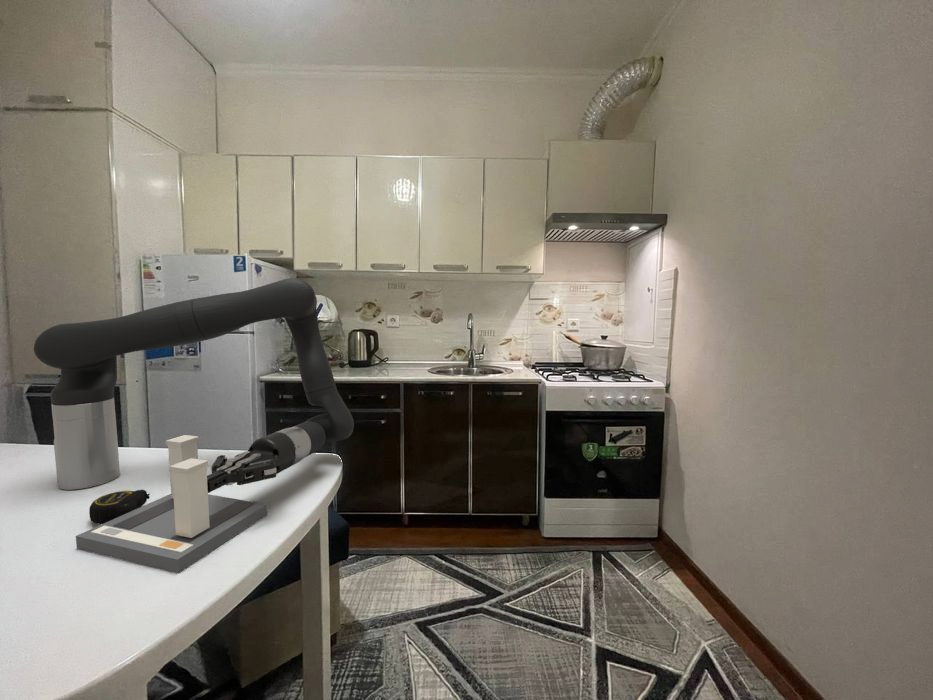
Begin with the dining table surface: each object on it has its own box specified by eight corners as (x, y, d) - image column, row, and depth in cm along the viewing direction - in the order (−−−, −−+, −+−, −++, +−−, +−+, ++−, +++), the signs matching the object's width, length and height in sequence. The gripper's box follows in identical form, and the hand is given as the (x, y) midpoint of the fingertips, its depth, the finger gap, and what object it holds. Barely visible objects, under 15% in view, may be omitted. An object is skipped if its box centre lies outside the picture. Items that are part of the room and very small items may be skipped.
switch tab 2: (173, 535, 58) (169, 466, 57) (194, 523, 61) (191, 458, 60) (191, 539, 57) (187, 469, 56) (211, 526, 60) (208, 460, 59)
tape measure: (131, 525, 65) (129, 504, 64) (80, 531, 63) (78, 509, 62) (150, 505, 71) (149, 486, 71) (105, 511, 69) (103, 491, 69)
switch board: (76, 548, 58) (75, 534, 58) (180, 499, 73) (180, 488, 73) (178, 573, 53) (177, 558, 52) (267, 514, 68) (266, 503, 68)
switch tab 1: (169, 498, 69) (165, 440, 68) (187, 490, 72) (184, 434, 71) (184, 501, 68) (180, 442, 67) (201, 492, 71) (198, 436, 70)
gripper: (253, 428, 78) (166, 459, 61) (309, 434, 74) (233, 469, 58) (255, 464, 78) (169, 504, 62) (310, 472, 75) (235, 516, 58)
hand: (200, 487), depth 60 cm, fingers closed
